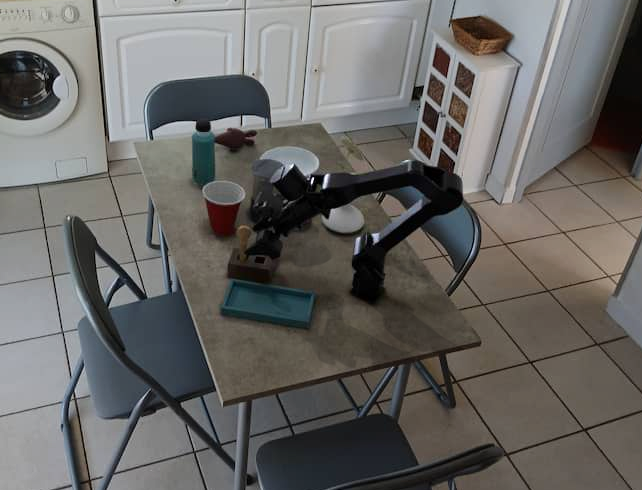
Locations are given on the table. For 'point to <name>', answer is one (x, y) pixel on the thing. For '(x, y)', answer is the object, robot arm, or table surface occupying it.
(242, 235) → the tan round-headed peg
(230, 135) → the brown stuffed toy
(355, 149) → the flower in vase
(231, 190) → the plastic cup
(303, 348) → the table surface
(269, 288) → the tray
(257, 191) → the milk frother
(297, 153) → the cereal bowl
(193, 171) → the beverage bottle
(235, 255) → the slotted brown holder
